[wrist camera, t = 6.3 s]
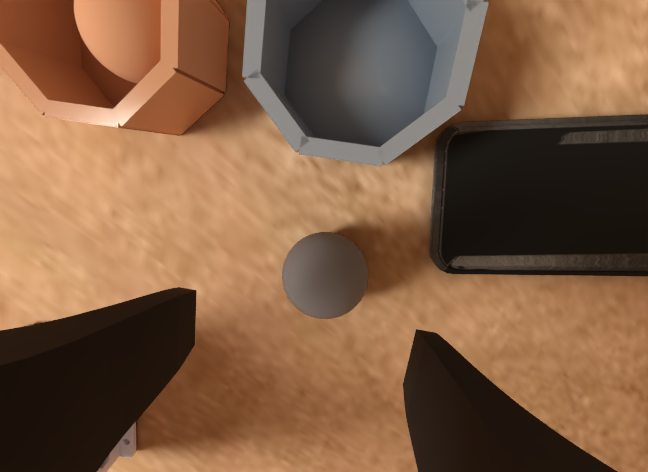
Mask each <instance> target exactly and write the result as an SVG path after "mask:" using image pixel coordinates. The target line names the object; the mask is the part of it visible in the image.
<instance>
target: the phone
mask: <svg viewBox="0 0 648 472" xmlns="http://www.w3.org/2000/svg"><path fill="white" fill-rule="evenodd" d="M435 159H436V161H435ZM429 253H430V257H431V259H432V261H433V262H434V264H435V265H436V266H437V267H438V268H439V269H440V270H442V271H444V272H446V273H451V274H506V275H593V276H648V115H623V116H598V117H573V118H547V119H522V120H497V121H471V122H461V123H457V124H454V125H452V126H450V127H448V128H446V129H445V130H444V131H443V132H442V133H441V134H440V135H439V137H438V139H437V141H436V145H435V152H434V170H433V188H432V205H431V223H430V241H429Z"/></svg>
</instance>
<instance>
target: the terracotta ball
mask: <svg viewBox="0 0 648 472" xmlns="http://www.w3.org/2000/svg"><path fill="white" fill-rule="evenodd" d="M74 14H75V20H76V23H77V27H78V30H79V32H80V35H81V37H82V39H83V41H84V43H85V44H86V46H87V47H88V49H89V50H90V52H91V53H92V54H93V55H94V56H95V58H96V59H97V60H98V61H99V62H100V63H101V64H102V65H104V66H105V67H106V68H107V69H109V70H110V71H111V72H113V73H114V74H116V75H117V76H119V77H121V78H123V79H126V80H128V81H131V82H134V83H139V82H140V81H141V80H142V79H143V78H144V77H145V76H146V75H147V74H148V73H149V72H150V71H151V70H152V69H153V68H154V67H155V66H156V65H157V63H158V62H159V61H160V60H161V0H74Z"/></svg>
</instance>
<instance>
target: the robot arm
mask: <svg viewBox="0 0 648 472" xmlns="http://www.w3.org/2000/svg"><path fill="white" fill-rule="evenodd" d="M195 316H196V290H191V289H185V288H180V287H178V288H172V289H168V290H164V291H160V292H156V293H153V294H149V295H146V296H142V297H139V298H136V299H132V300H129V301H125V302H122V303H119V304H115V305H112V306H108V307H104V308H101V309H97V310H93V311H89V312H86V313H82V314H78V315H74V316H71V317H66V318H62V319H58V320H53V321H49V322H44V323H39V324H34V325H33V324H28V325H26V326H24V327H19V328H14V329H8V330H1V331H0V472H107V471H108V469H109V468H110V467H111V466H112V464H113V463H114V462H115V461H116V459H117V458H118V457H119V456H122V457H127V458H130V457H132V456H133V455H134V454H135V452H136V421H137V419H138V418H139V417H140V416H141V415H142V413H143V412H144V411H145V410H146V409H147V408H148V406H149V405H150V404H151V403H152V402H153V400H154V399H155V398H156V397H157V396H158V395H159V393H160V392H161V391H162V390H163V389H164V387H165V386H166V385H167V384H168V383H169V381H170V380H171V379H172V378H173V376H174V375H175V374H176V373H177V372H178V370H179V369H180V367H181V366H182V364H183V363H184V361H185V359H186V358H187V356H188V355H189V353H190V351H191V350H192V348H193V346H194V345H195ZM403 389H404V401H405V410H406V418H407V423H408V428H409V432H410V437H411V441H412V446H413V450H414V455H415V459H416V464H417V468H418V472H617V471H615V470H614V469H612V468H611V467H609V466H607V465H606V464H604V463H603V462H601V461H599V460H598V459H596V458H595V457H593V456H592V455H590V454H588V453H587V452H585V451H584V450H582V449H581V448H579V447H578V446H576V445H575V444H573V443H572V442H570V441H569V440H567V439H566V438H564V437H563V436H561V435H560V434H558V433H557V432H556V431H554V430H553V429H551V428H550V427H549V426H547V425H546V424H544V423H543V422H542V421H540V420H539V419H538V418H536V417H535V416H533V415H532V414H531V413H529V412H528V411H527V410H525V409H524V408H523V407H521V406H520V405H519V404H518V403H516V402H515V401H514V400H513V399H511V398H510V397H509V396H508V395H507V394H505V393H504V392H503V391H502V390H500V389H499V388H498V387H497V386H496V385H494V384H493V383H492V382H491V381H490V380H489V379H487V378H486V377H485V376H484V375H483V374H482V373H481V372H480V371H478V370H477V369H476V368H475V367H474V366H473V365H472V364H471V363H470V362H468V361H467V360H466V359H465V358H464V357H463V356H462V355H461V354H460V353H459V352H458V351H456V350H455V349H454V348H453V347H452V346H451V345H450V344H449V343H448V342H447V341H445V340H444V339H443V338H442V337H441V336H440V335H438V334H437V333H434V332H428V331H423V330H417V329H416V333H415V337H414V341H413V345H412V349H411V354H410V358H409V362H408V366H407V370H406V374H405V379H404V383H403Z"/></svg>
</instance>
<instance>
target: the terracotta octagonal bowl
mask: <svg viewBox="0 0 648 472" xmlns="http://www.w3.org/2000/svg"><path fill="white" fill-rule="evenodd" d="M227 19H228V17H227V16H226V14H225V13H224V12H223V10H222V9H221V7H220V6H219V5H218V3H217V2H216V1H215V0H161V60H160V61H159V62H158V63H157V65H156V66H155V67H154V68H153V69H152V70H151V71H150V72H149V73H148V74H147V75H146V76H145V77H144V78H143V79H142V80H141V81H140V82H139V83H134V82H131V81H128V80H126V79H123V78H121V77H119V76H117V75H116V74H114V73H113V72H111V71H110V70H109V69H107V68H106V67H105V66H104V65H102V64H101V63H100V62H99V61H98V60H97V59H96V58H95V56H94V55H93V54H92V53H91V52H90V50H89V49H88V47H87V46H86V44H85V43H84V41H83V39H82V37H81V35H80V32H79V30H78V27H77V23H76V20H75V14H74V0H0V67H1V68H2V69H3V70H4V71H5V73H6V74H7V75H8V76H9V77H10V78H11V80H12V81H13V82H14V83H15V84H16V86H17V87H18V88H19V89H20V90H21V91H22V93H23V94H24V95H25V96H26V97H27V98H28V100H29V101H30V102H31V103H32V104H33V105H34V107H35V108H36V109H37V110H38V111H39V113H40V114H41V115H45V117H49V118H56V119H63V120H70V121H76V122H83V123H90V124H97V125H104V126H110V127H117V128H125V129H132V130H140V131H148V132H155V133H163V134H171V135H178V136H179V134H180V135H181V134H183V133H184V132H185V131H186V130H187V129H188V128H189V127H190V126H191V125H192V124H193V123H194V122H196V121H197V120H198V119H199V118H200V117H201V116H202V115H203V114H204V113H205V112H206V111H207V110H209V109H210V108H211V107H212V106H213V105H214V104H215V103H216V102H217V101H218V100H219V99H220V98H222V97H223V96H224V94H223V93H222V92H225V90H226V72H227V53H228V35H229V21H228V20H227Z"/></svg>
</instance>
